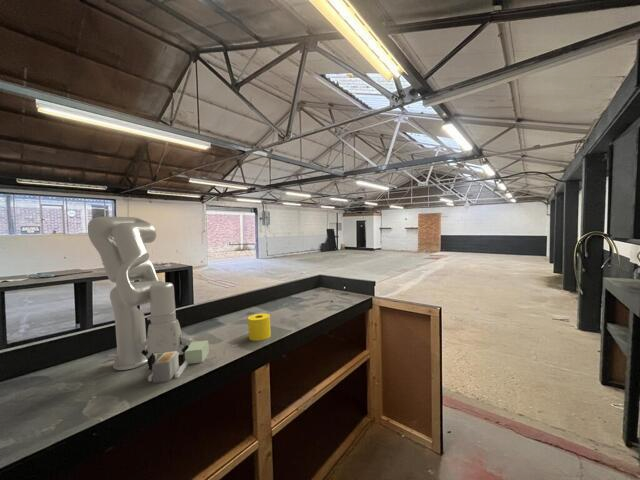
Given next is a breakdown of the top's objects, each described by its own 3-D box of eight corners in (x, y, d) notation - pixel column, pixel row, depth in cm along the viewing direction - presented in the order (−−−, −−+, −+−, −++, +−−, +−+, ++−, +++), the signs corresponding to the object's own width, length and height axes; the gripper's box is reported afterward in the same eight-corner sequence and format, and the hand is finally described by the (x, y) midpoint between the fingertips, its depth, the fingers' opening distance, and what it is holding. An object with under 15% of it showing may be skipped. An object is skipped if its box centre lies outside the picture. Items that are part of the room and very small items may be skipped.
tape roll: (264, 341, 120) (263, 320, 120) (244, 339, 123) (243, 319, 123) (274, 333, 130) (273, 313, 129) (256, 332, 133) (255, 313, 132)
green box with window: (144, 381, 91) (142, 355, 90) (168, 356, 110) (167, 334, 110) (194, 375, 93) (192, 350, 93) (209, 351, 112) (207, 330, 112)
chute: (166, 368, 100) (164, 351, 99) (180, 366, 100) (179, 349, 100) (153, 383, 90) (151, 364, 90) (169, 381, 90) (167, 362, 90)
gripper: (131, 324, 90) (134, 374, 90) (185, 319, 92) (189, 368, 92) (142, 317, 97) (146, 364, 97) (193, 312, 99) (196, 358, 100)
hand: (167, 365), depth 95 cm, fingers open, 9 cm apart
